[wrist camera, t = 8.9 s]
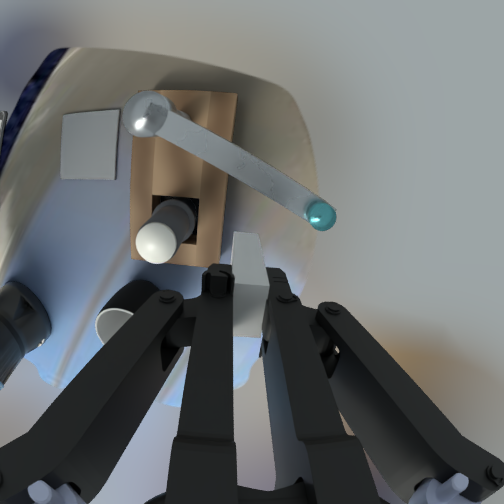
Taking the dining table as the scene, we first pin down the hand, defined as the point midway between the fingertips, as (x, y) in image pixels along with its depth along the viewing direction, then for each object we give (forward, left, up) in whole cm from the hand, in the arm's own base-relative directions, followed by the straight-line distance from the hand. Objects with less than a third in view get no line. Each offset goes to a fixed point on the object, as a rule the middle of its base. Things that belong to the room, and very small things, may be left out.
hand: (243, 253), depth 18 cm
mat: (-23, +5, -21) cm, 32 cm away
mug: (-14, -20, -21) cm, 32 cm away
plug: (-8, -4, -21) cm, 23 cm away
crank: (-2, +6, -7) cm, 9 cm away
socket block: (-8, +1, -21) cm, 22 cm away
